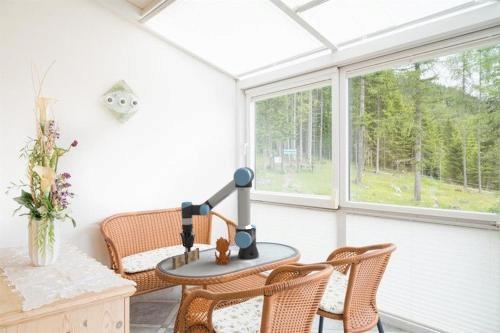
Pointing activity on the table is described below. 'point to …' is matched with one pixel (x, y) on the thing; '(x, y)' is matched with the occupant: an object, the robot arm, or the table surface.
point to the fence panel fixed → (179, 261)
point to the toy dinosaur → (222, 251)
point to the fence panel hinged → (193, 255)
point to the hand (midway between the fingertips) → (188, 256)
